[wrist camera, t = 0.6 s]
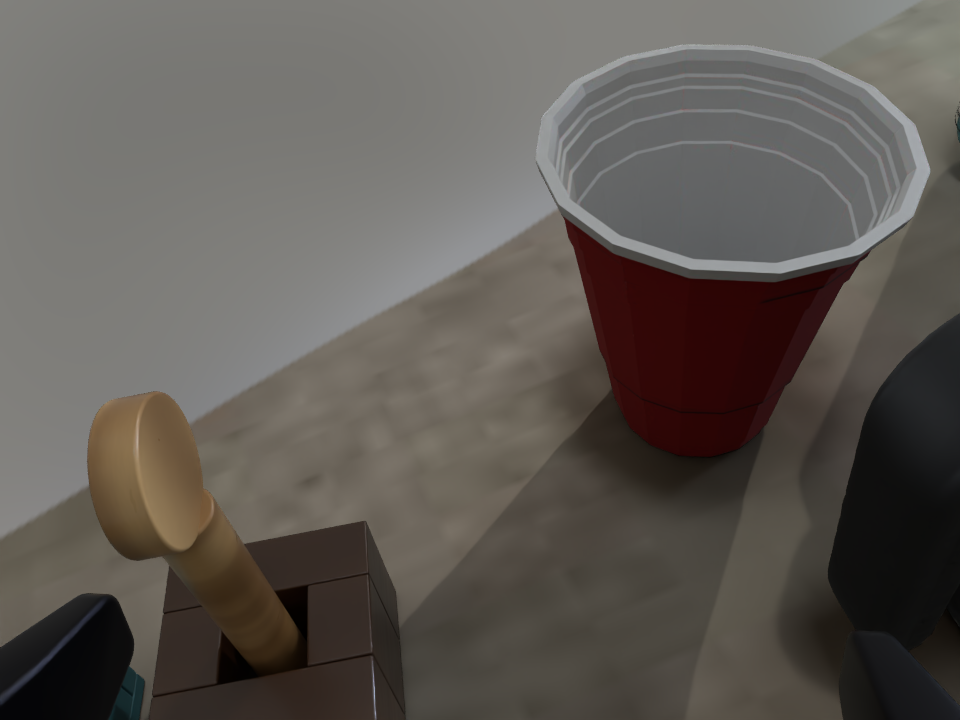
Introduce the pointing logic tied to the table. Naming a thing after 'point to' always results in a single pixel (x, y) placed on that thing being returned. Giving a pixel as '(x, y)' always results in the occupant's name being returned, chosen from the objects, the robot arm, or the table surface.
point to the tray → (129, 697)
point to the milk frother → (905, 499)
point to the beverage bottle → (958, 124)
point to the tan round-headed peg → (184, 525)
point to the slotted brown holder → (321, 620)
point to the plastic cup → (720, 222)
